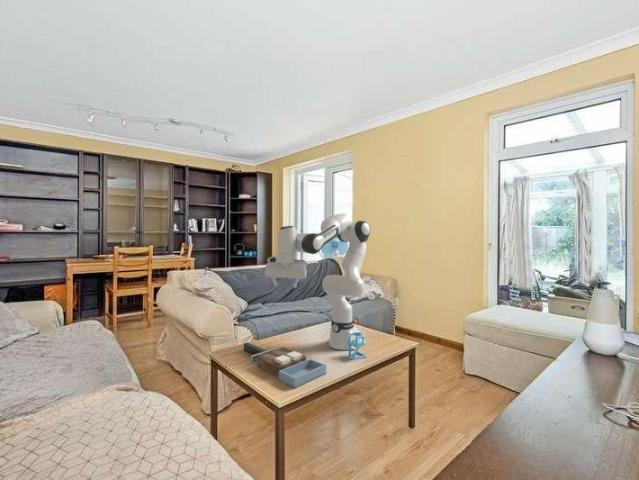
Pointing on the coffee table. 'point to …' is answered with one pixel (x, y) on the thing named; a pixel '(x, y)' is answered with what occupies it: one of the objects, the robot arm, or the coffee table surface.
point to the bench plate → (272, 367)
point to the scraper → (256, 351)
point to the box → (302, 373)
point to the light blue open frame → (356, 345)
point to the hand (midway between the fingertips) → (285, 287)
